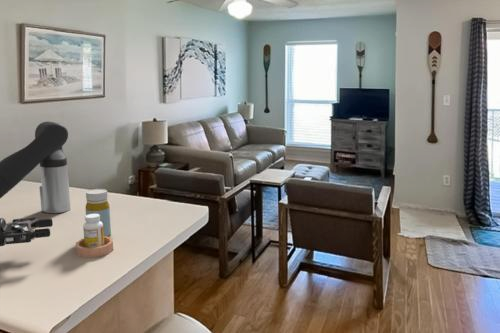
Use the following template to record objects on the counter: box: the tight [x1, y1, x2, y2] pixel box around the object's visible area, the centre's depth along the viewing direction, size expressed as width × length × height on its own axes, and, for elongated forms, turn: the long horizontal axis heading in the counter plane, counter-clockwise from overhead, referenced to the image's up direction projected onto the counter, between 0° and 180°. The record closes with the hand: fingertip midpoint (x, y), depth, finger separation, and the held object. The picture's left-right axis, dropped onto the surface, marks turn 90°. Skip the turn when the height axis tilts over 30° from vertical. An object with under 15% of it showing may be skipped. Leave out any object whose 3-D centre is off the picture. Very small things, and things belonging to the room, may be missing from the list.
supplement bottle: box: [82, 214, 104, 248], centre depth 126 cm, size 5×5×10 cm
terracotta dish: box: [75, 236, 114, 258], centre depth 127 cm, size 10×10×2 cm
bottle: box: [85, 188, 112, 238], centre depth 135 cm, size 7×7×15 cm
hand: (51, 227), depth 121 cm, fingers open, 8 cm apart
